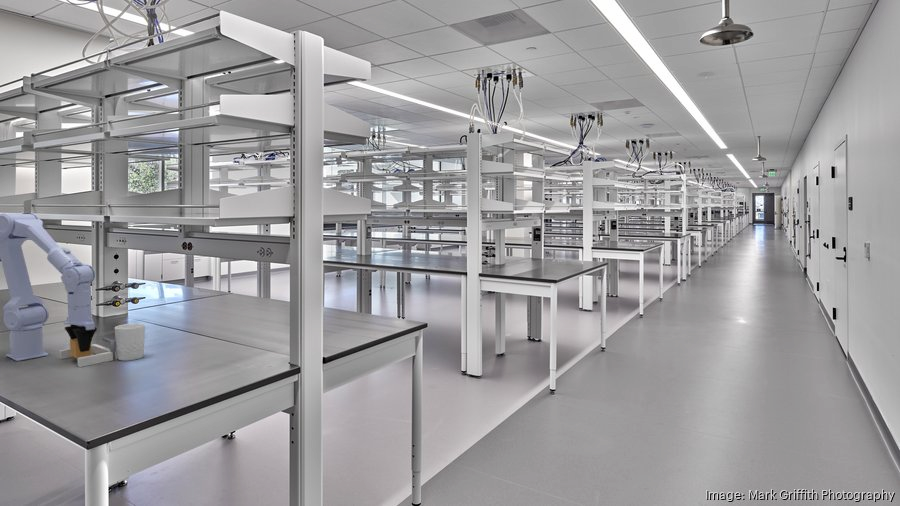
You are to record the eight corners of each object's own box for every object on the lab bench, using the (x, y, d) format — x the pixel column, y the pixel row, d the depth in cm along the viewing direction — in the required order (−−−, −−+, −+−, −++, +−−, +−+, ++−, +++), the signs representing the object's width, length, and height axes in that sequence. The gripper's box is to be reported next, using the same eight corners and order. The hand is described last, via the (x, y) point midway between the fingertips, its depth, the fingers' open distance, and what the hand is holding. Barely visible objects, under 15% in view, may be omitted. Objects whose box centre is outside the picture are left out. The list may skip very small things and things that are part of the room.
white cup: (148, 353, 161) (147, 322, 160) (142, 360, 154) (141, 328, 153) (119, 355, 158) (118, 324, 157) (112, 362, 151) (111, 329, 150)
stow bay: (59, 358, 154) (58, 339, 153) (96, 351, 162) (95, 333, 161) (79, 367, 146) (78, 347, 145) (116, 359, 154) (116, 340, 153)
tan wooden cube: (70, 355, 151) (69, 339, 151) (85, 352, 155) (85, 337, 154) (76, 358, 149) (75, 341, 149) (91, 355, 153) (90, 339, 152)
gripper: (54, 304, 152) (56, 348, 153) (74, 310, 144) (76, 356, 145) (81, 301, 158) (83, 343, 159) (101, 306, 149) (103, 351, 151)
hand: (81, 349), depth 152 cm, fingers closed on tan wooden cube, 4 cm apart
